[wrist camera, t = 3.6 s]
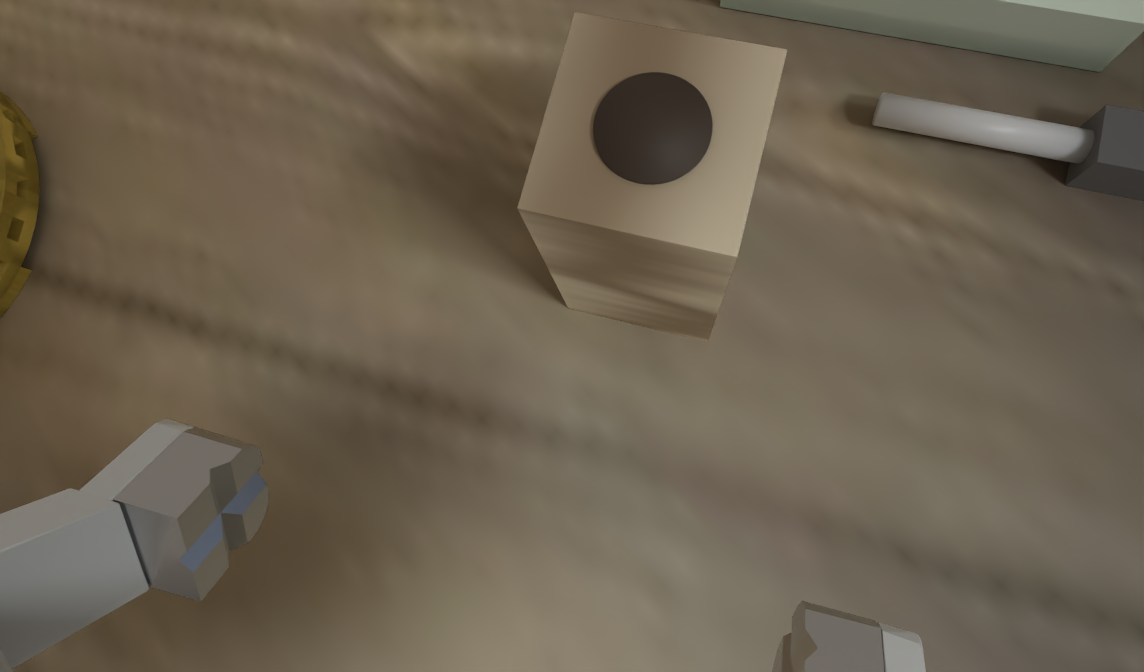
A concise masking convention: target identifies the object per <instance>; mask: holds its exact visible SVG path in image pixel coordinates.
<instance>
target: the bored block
mask: <svg viewBox="0 0 1144 672" xmlns="http://www.w3.org/2000/svg"><path fill="white" fill-rule="evenodd" d="M786 54H787V49H781V48H776V47H770V46H764V45H759V44H753V43H748V42H742V41H736V40H731V39H725V38H719V37H714V36H708V35H703V34H697V33H691V32H686V31H680V30H675V29H669V28H663V27H658V26H652V25H647V24H641V23H635V22H630V21H624V20H618V19H613V18H607V17H602V16H596V15H590V14H585V13H579V12H575V13H574V16H573V20H572V23H571V26H570V30H569V33H568V37H567V40H566V43H565V47H564V50H563V54H562V57H561V61H560V64H559V67H558V71H557V74H556V78H555V81H554V84H553V88H552V91H551V95H550V98H549V101H548V105H547V108H546V112H545V115H544V118H543V122H542V125H541V129H540V132H539V136H538V139H537V142H536V146H535V149H534V153H533V156H532V159H531V163H530V166H529V170H528V173H527V176H526V180H525V183H524V187H523V190H522V193H521V197H520V200H519V204H518V207H517V209H518V211H519V213H520V215H521V217H522V219H523V221H524V223H525V225H526V227H527V228H528V230H529V232H530V234H531V236H532V238H533V240H534V242H535V244H536V246H537V248H538V250H539V252H540V254H541V256H542V258H543V260H544V262H545V264H546V266H547V268H548V270H549V272H550V274H551V275H552V277H553V279H554V281H555V283H556V285H557V287H558V289H559V291H560V293H561V295H562V297H563V299H564V301H565V303H566V305H567V307H568V308H569V309H573V310H577V311H582V312H586V313H590V314H594V315H598V316H602V317H606V318H611V319H615V320H619V321H623V322H627V323H631V324H635V325H640V326H644V327H648V328H652V329H656V330H660V331H664V332H669V333H673V334H677V335H681V336H685V337H689V338H693V339H698V340H702V341H706V342H708V340H709V337H710V334H711V331H712V328H713V326H714V323H715V320H716V317H717V314H718V311H719V308H720V305H721V303H722V300H723V297H724V294H725V291H726V288H727V285H728V282H729V280H730V277H731V274H732V271H733V268H734V265H735V262H736V259H737V256H738V252H739V248H740V244H741V240H742V236H743V232H744V227H745V223H746V219H747V215H748V211H749V207H750V203H751V199H752V194H753V190H754V186H755V182H756V178H757V174H758V170H759V165H760V161H761V157H762V153H763V149H764V145H765V141H766V137H767V132H768V128H769V124H770V120H771V116H772V112H773V108H774V103H775V99H776V95H777V91H778V87H779V83H780V79H781V75H782V70H783V66H784V62H785V58H786Z"/></svg>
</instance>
